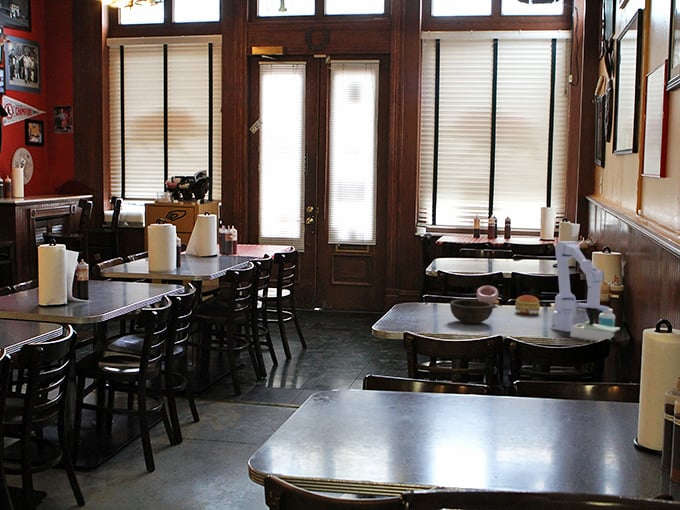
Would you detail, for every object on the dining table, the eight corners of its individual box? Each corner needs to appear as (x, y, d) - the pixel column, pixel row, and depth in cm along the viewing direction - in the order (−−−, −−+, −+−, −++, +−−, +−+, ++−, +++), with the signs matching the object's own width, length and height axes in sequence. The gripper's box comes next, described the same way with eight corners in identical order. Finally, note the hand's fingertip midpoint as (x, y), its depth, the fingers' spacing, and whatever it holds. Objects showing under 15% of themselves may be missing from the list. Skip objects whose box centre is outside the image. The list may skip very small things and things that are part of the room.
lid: (583, 327, 396) (583, 322, 396) (590, 324, 404) (591, 319, 403) (613, 332, 388) (613, 327, 388) (619, 329, 395) (620, 324, 395)
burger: (529, 310, 468) (530, 292, 467) (545, 315, 456) (546, 296, 455) (509, 311, 462) (510, 293, 461) (525, 316, 450) (526, 298, 449)
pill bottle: (614, 338, 402) (616, 310, 400) (598, 337, 403) (600, 309, 402) (612, 335, 409) (614, 308, 407) (596, 334, 411) (598, 307, 409)
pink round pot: (475, 305, 477) (476, 285, 475) (476, 302, 488) (477, 282, 487) (497, 307, 474) (498, 287, 473) (497, 303, 486) (498, 284, 484)
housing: (570, 337, 400) (571, 326, 400) (578, 334, 408) (578, 323, 407) (603, 343, 391) (604, 331, 390) (610, 339, 399) (611, 328, 398)
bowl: (446, 318, 439) (447, 299, 438) (488, 319, 439) (489, 300, 438) (452, 326, 417) (453, 306, 416) (496, 328, 418) (497, 308, 416)
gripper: (575, 294, 398) (573, 323, 400) (606, 298, 389) (603, 327, 391) (581, 293, 403) (579, 320, 405) (611, 297, 395) (609, 325, 397)
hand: (591, 324), depth 398 cm, fingers closed
